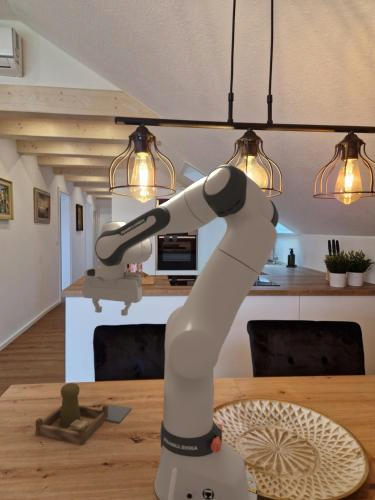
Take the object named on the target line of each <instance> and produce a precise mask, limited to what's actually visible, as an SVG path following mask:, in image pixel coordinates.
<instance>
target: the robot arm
mask: <svg viewBox="0 0 375 500" xmlns="http://www.w3.org/2000/svg"><path fill="white" fill-rule="evenodd" d="M217 218H222V219H224V221H225V223H226V231H225V233H224V234H223V237H222V238H221V239H220V241H219V242H218V244H217V246H216V248H215V249H214V250H213V252H212V253H211V254H210V257H209V258H208V260H207V261H206V263H205V265H204V267H203V268H202V269H201V270H200V272H199V274H198V276H197V278H196V280H195V281H194V284H193V286H192V287H191V290H190V292H189V294H188V296H187V298H186V299H185V301H184V303H183V305H181V306H179V307H178V308H176V309H174V310H173V311H172V313H171V314H170V315H169V316H168V319H167V320H166V324H165V332H164V333H165V334H164V338H165V339H164V375H163V376H164V377H163V378H164V379H163V410H162V411H163V415H162V417H163V418H162V421H161V422H160V434H159V435H160V436H159V441H160V448H161V452H160V457H159V458H160V459H159V465H158V469H157V474H156V476H155V479H154V484H153V488H154V492H155V495H156V496H157V498H158V499H159V500H258V493H257V494H254V493H252V492H249V491H248V487H249V488H253V489H256V490H257V491H258V487H257V483H256V480H255V478H254V476H253V475H252V473H251V472H249V471H247V469H246V465H245V462H244V459H243V457H242V455H241V454H240V453H239V452H238V451H236V450H235V449H234V448H233V447H231V446H230V445H229V444H228V443H226V441H225V440H223V423H222V422H221V423H220V425H217V424H216V422H215V421H214V410H215V409H214V407H215V406H214V405H215V402H214V401H215V384H214V383H215V382H214V369H215V367H216V366H217V363H218V361H219V356H220V355H221V354H220V353H221V350H222V348H223V345H224V344H225V342H226V339H227V337H228V335H229V333H230V331H231V328H232V326H233V323H234V321H235V319H236V317H237V314H238V312H239V310H240V309H241V306H242V304H243V302H244V301H245V299H246V297H247V296H248V294H249V293H250V291H251V290H252V288H253V286H254V285H255V283H256V281H257V280H258V278H259V276H260V274H261V273H262V271H263V270H264V268H265V266H266V264H267V262H268V261H269V258H270V256H271V254H272V251H273V249H274V247H275V244H276V242H277V238H278V231H277V229H276V227H277V226H278V223H279V211H278V208H277V207H276V205H275V204H274V202H273V201H272V200H271V199H269V197H268V195H266V193H265V192H264V191H263V190H262V188H261V186H260V185H259V184H257V182H255V181H254V180H253V179H252V178H250V177H249V176H248V175H247V174H246V172H244V171H243V170H242V169H240V168H239V167H238V166H235V165H233V164H221V165H219V166H217V167H216V168H214V169H213V170H211V171H210V172H209V173H208V175H207V176H205V177H203V178H201V179H200V180H198V181H196V182H194V183H192V184H191V185H189V186H188V187H186V188H184V190H182V191H180V192H179V193H178V194H176V195H174V196H173V197H172V198H169V200H167V201H165V202H163V203H161V204H160V205H158V206H155V207H154V208H152V209H150V210H148V211H146V212H144V213H142V214H141V215H139V216H138V217H136V218H134V219H132V220H131V221H129V222H127V223H126V222H124V221H117V220H115V221H108V222H105V223H103V224H102V226H101V229H100V234H99V236H98V238H97V240H96V242H95V246H94V251H95V255H96V257H97V259H98V265H96V266H94V267H91V268H86V269H85V270H84V276H85V277H84V278H83V280H82V285H81V287H82V288H81V292H82V293H81V294H82V296H83V298H84V299H85V298H86V299H91V300H92V304H93V306H94V307H95V309H94V312H95V313H99V314H100V313H102V312H103V306H100V303H99V302H100V300H102V301H113V302H123V303H124V306H125V307H124V309H121V310H120V315H121V316H122V317H123V316H125V317H126V316H128V314H129V312H128V311H129V309H130V307H131V306H132V304H137V303H139V302H141V300H142V299H143V289H142V288H143V287H142V286H143V279H142V276H141V275H139V273H135V272H134V273H132V272H127V265H134V264H141V263H144V262H147V261H148V260H149V258H150V257H151V255H152V252H153V244H152V241H151V239H150V238H152V237H155V236H159V235H165V234H166V235H167V234H185V233H190V232H193V231H195V230H196V231H197V229H198V230H199V229H201V228H202V227H204V226H206V225H207V224H209V223H211V222H212V221H214V220H216V219H217ZM247 481H248V482H249V481H252V482H253V483H248V482H247Z"/></svg>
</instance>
